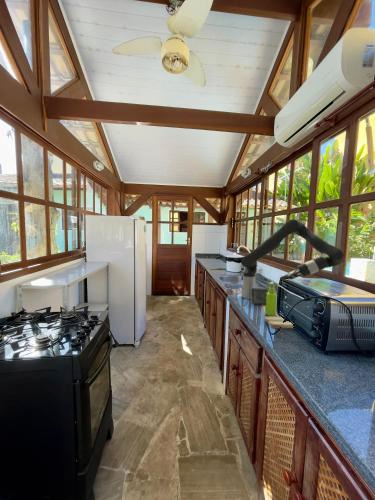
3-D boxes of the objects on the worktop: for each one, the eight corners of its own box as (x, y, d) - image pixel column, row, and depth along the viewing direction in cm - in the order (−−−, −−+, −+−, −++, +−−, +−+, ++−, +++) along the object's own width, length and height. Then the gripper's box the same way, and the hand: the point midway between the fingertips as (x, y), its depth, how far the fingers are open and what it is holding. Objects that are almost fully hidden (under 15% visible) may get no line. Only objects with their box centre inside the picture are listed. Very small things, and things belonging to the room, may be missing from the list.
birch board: (264, 319, 131) (264, 316, 131) (284, 319, 131) (284, 316, 131) (272, 328, 119) (272, 324, 119) (294, 328, 119) (294, 324, 119)
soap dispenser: (275, 312, 143) (276, 281, 141) (276, 316, 136) (277, 284, 135) (265, 311, 145) (266, 281, 143) (265, 315, 138) (267, 283, 137)
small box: (266, 302, 165) (266, 288, 164) (268, 304, 158) (268, 290, 157) (251, 301, 166) (251, 287, 165) (253, 304, 159) (253, 289, 158)
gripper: (301, 262, 139) (276, 273, 143) (307, 262, 126) (280, 274, 129) (307, 273, 138) (282, 284, 142) (314, 275, 124) (286, 286, 128)
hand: (281, 279), depth 135 cm, fingers open, 8 cm apart
